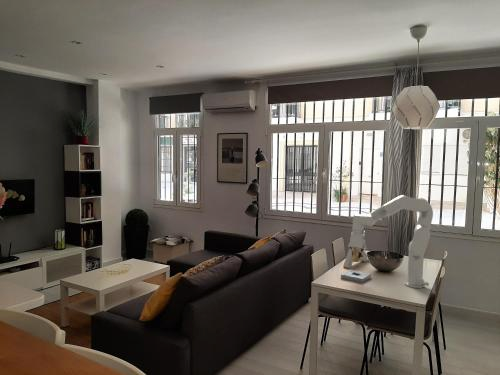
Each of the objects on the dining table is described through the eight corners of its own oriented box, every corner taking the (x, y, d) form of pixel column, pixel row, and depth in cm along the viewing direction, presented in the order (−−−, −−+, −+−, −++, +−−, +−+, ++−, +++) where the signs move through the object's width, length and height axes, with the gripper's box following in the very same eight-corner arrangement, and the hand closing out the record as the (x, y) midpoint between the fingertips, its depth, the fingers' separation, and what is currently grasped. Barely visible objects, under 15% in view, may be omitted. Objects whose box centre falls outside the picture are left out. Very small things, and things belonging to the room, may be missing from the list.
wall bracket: (362, 282, 324) (347, 267, 304) (357, 281, 327) (342, 266, 307) (370, 258, 331) (356, 242, 312) (365, 257, 334) (351, 241, 315)
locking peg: (360, 261, 280) (360, 247, 279) (357, 262, 277) (358, 248, 276) (354, 260, 283) (355, 246, 282) (352, 261, 280) (353, 247, 279)
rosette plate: (370, 277, 282) (371, 273, 282) (362, 283, 270) (362, 279, 270) (350, 273, 292) (350, 269, 292) (340, 278, 280) (340, 274, 279)
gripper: (371, 232, 276) (369, 258, 278) (348, 229, 286) (347, 254, 288) (367, 234, 270) (365, 260, 272) (344, 230, 281) (343, 255, 282)
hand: (356, 256), depth 280 cm, fingers closed on locking peg, 4 cm apart
